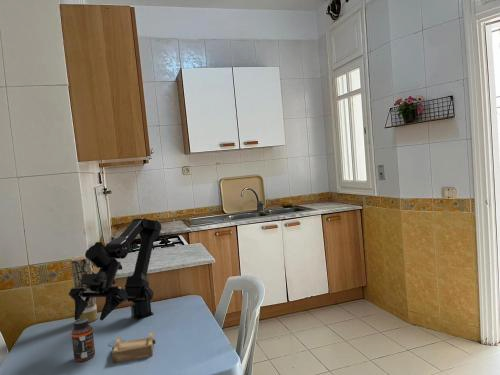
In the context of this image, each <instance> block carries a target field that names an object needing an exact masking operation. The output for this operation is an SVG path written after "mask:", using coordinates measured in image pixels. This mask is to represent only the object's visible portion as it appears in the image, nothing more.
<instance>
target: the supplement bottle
mask: <svg viewBox="0 0 500 375" xmlns="http://www.w3.org/2000/svg"><path fill="white" fill-rule="evenodd" d="M89 323H90V322H88V319H80V320H79V319H78V320H74V322H73V329H72V330H71V332H70V334H71V335H70V336H71V341H72V352H73V359H74V361H75V362H84V361H89V360H90V359H92V358H94V356H95V355H96V348H95V347H96V346H95V341H94V340H95V339H94V329H93V326H92V325H91V324H89Z"/></svg>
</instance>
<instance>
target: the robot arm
mask: <svg viewBox="0 0 500 375" xmlns="http://www.w3.org/2000/svg"><path fill="white" fill-rule="evenodd" d="M161 231H162V224H161V223H160V222H159V220H151V219H148V218H145V217H135V218H133V219H132V220H131V223H129V225H128V226H127V227H126V228H125V229H124V231H122V233H121V234H120V235H119V236H118V237H117V238H114V239H112V240H110V241H109V242H108V243H106V245H104V244H103V242H102V241H95V242H94V244H93V245H91V246H90V247H89V248H88V249H87V250H86V251H85V254H84V255H85V256H86V258H87V259H88V260H89V261H90V262H91V265H92V266H94V267H95V268H97V269H98V271H97V273H93V274H82V278H81V285H88V286H87V288H88V289H91V291H86V290H85V289H84V288H83V287H75V286H74V287H71V289H70V290H69V293H68V296H69V297H71V299H72V300H73V301H74V321H77V320H79V318H80V316H81V314H82V313H83V311H84V310H85V308H86V306H87V305H88V303H87V301H89V299H90V297H95V298H105V303H104V304H103V307H102V310H101V314H100V316H99V321H103V320H105V319H106V318H107V317H108V315H109V314H111V313H112V311H114V310H115V309H116V308H117V307H118V306H120V305H122V304H123V303H126V302H130V303H131V305H130V312H131V314H130V316H131V317H133V319H134V318H135V319H136V320H140V319H143V318H146V317H149V316H152V315H154V312H153V311H152V305H151V300H153V298H154V290H152V289H151V288H150V287H149V286H150V282H149V279H148V277H147V275H148V269H149V266H150V261H151V256H152V250H153V247H154V242H155V241H156V240H157V239H158V238H159V237H160V233H161ZM138 236H139V238H140V244H139V247H138V253H137V259H136V262H135V266H134V271H133V274H132V275H130V276H127V277H126V282H125V285H124V288H123V287H122V286H118V285H117V286H114V285H115V284H116V283H117V281H116V280H115V278H116V276H117V272H118V271H119V270H123V266H122V263H121V261H118V260H121V259H125V258H126V257H127V256H128V255H129V253H130V251H131V248H130V247H131V245H132V243H133V242H134V240H136V238H137V237H138Z"/></svg>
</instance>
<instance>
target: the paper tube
mask: <svg viewBox="0 0 500 375" xmlns="http://www.w3.org/2000/svg"><path fill="white" fill-rule="evenodd" d="M71 266H72V267H71V268H72V274H73V276H72V277H73V284H74V287H83V288H84V289H85V290H86V291H91V289H88V288H87V286H88V285H81V278H82V274H94V273H93V267H92V266H93V264H92V263H91V262H90V261H89V260H88V259H87V258H86V256H85V254H83V255H78V256H74V257H72V258H71ZM96 298H97V297H90V299H89V301H87V303H88V305H87V306H86V308H85V310H84V311H83V313H82V314H81V316H80V318H79V319H78V320H80V319H88V322H89V323H92V322H95V321H96V320H97V319H98V309H97V299H96Z"/></svg>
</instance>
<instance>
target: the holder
mask: <svg viewBox="0 0 500 375" xmlns="http://www.w3.org/2000/svg"><path fill="white" fill-rule="evenodd" d="M156 342H157V341H156V339H155V336H154V331H153V330H152V331H150V332H149V336H148V337H143V338H139V339H134V340H130V341H122V337H121V336H119V337H117V339H116V341H115V344H114V346H112V348H111V350H112V352H111V356H112V363H113V364H116V363H117V364H118V363H122V362H127V361H133V360H138V359H142V358H146V357H147V358H148V357H152V356H153V355H154V345H155V344H156Z"/></svg>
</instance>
